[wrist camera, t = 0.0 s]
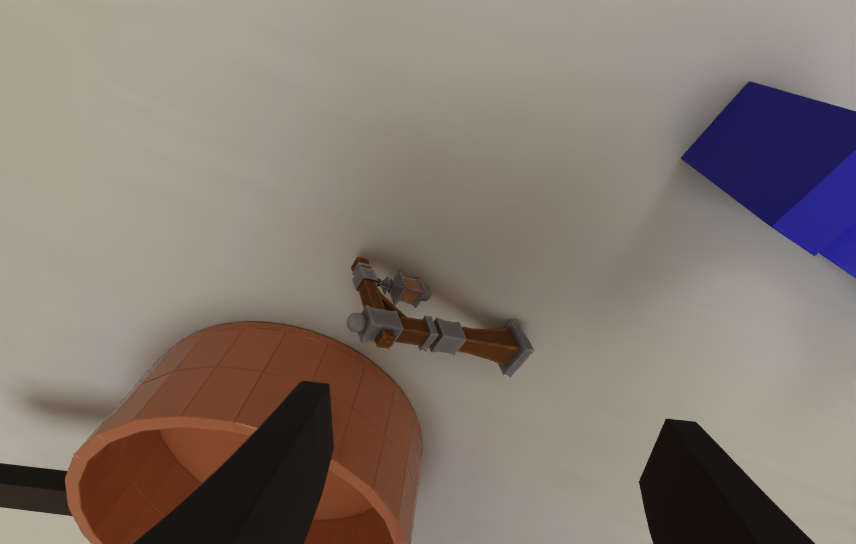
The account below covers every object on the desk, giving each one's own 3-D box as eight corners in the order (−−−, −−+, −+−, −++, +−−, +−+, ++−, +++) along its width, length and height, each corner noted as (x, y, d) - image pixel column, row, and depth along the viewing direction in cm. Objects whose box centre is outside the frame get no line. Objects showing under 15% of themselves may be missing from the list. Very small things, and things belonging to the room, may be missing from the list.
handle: (102, 499, 23) (88, 518, 22) (-31, 483, 24) (-51, 501, 23) (90, 473, 22) (74, 492, 21) (-49, 456, 23) (-70, 474, 22)
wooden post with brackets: (343, 238, 19) (362, 320, 15) (496, 282, 23) (537, 354, 19) (325, 272, 19) (340, 356, 16) (475, 308, 24) (511, 381, 20)
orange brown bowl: (416, 531, 29) (403, 644, 24) (181, 503, 30) (120, 606, 25) (429, 337, 22) (415, 441, 17) (115, 307, 23) (8, 397, 17)
